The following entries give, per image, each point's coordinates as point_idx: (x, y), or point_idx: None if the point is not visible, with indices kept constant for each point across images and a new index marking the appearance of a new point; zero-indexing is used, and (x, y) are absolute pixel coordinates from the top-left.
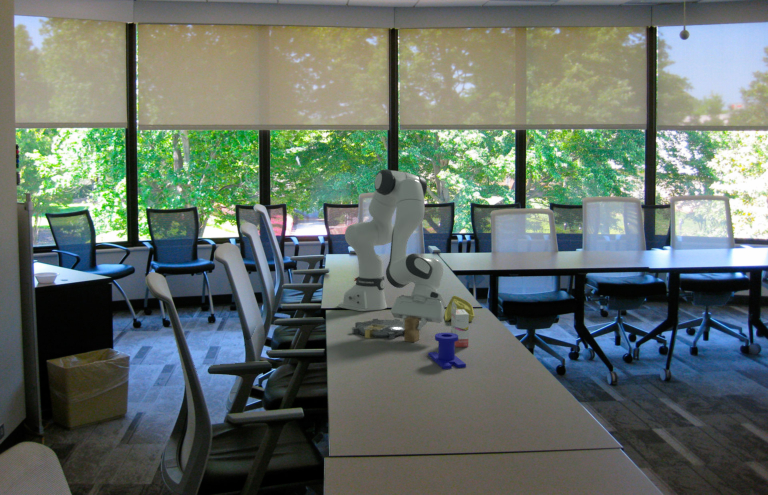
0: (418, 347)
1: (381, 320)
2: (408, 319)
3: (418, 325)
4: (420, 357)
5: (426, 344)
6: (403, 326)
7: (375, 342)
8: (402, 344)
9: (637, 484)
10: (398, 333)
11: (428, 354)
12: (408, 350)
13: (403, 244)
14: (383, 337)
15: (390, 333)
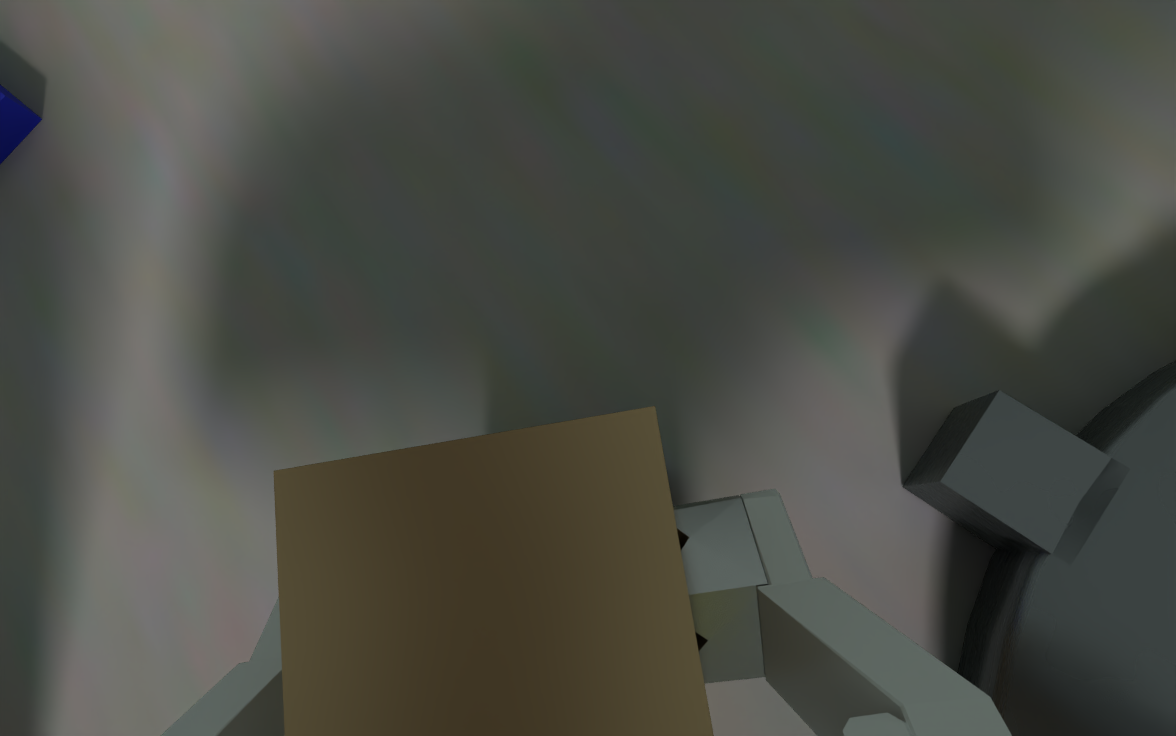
0: (298, 315)
1: None
2: (530, 480)
3: None
4: (89, 11)
5: (272, 520)
6: (737, 496)
7: (983, 123)
8: (574, 294)
9: None
10: (984, 676)
11: (20, 104)
12: (341, 125)
13: None
14: (1105, 408)
15: (999, 422)
